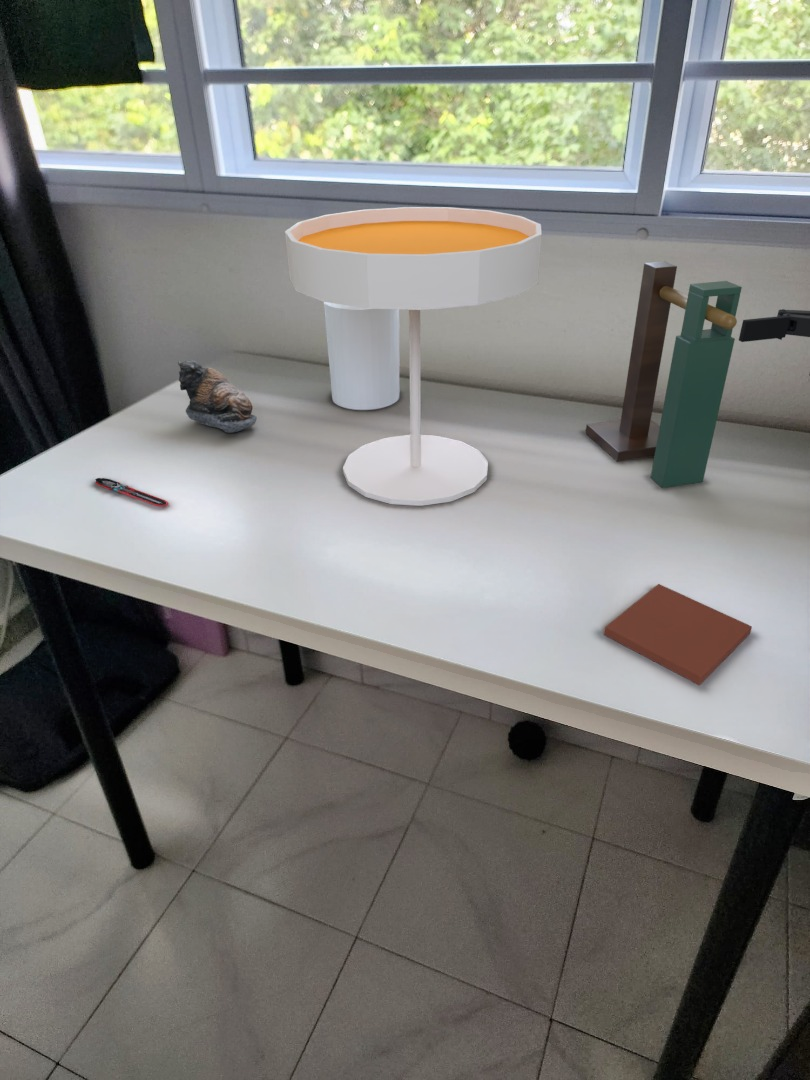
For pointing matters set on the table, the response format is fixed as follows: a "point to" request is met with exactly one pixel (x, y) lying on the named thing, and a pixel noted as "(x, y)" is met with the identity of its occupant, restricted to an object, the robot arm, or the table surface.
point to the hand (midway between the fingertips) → (776, 347)
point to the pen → (130, 491)
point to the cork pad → (678, 633)
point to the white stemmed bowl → (414, 315)
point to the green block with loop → (694, 388)
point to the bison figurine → (214, 398)
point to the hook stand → (647, 366)
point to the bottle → (363, 355)
